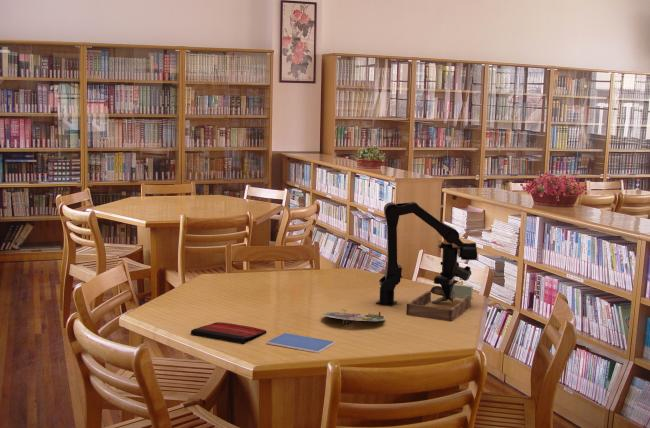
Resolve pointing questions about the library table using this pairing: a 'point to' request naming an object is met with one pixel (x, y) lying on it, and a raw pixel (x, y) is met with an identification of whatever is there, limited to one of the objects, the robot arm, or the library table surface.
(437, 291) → the eagle figurine
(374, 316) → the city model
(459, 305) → the crate
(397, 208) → the robot arm
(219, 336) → the binder
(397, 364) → the library table surface
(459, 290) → the stop rail
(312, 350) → the blue book
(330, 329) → the library table surface
